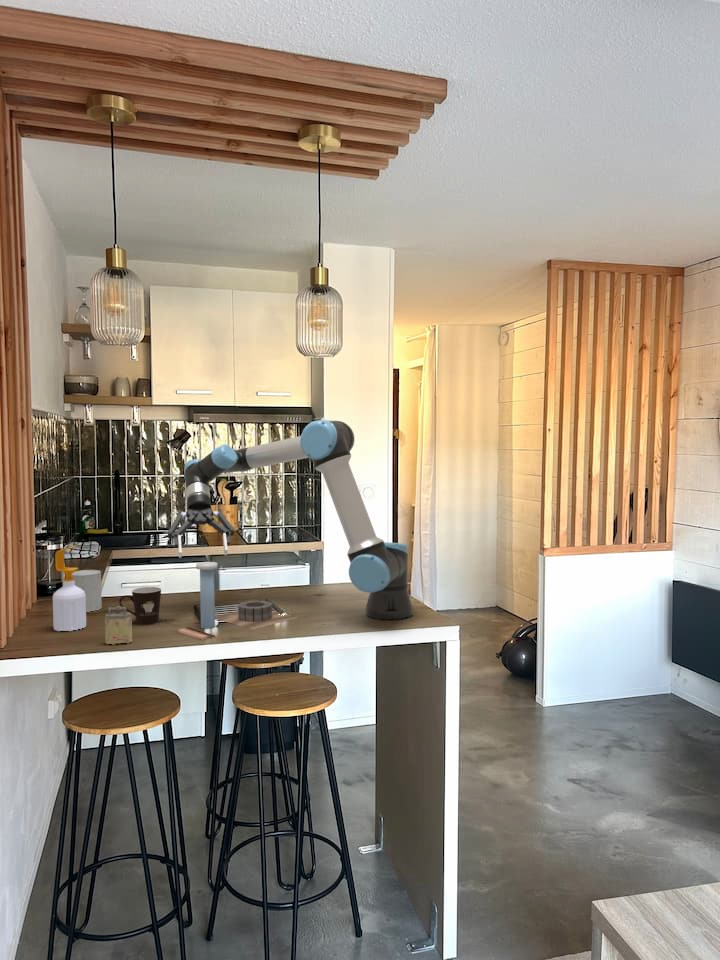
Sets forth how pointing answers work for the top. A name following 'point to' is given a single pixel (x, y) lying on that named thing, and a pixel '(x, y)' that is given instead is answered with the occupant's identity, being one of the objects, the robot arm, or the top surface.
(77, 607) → the soap bottle
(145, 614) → the coffee mug
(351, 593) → the top surface
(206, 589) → the peg
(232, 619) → the eye plate
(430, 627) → the top surface
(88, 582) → the grey tapered cup
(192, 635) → the tile
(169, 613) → the top surface
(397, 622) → the top surface
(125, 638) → the beige rectangular bottle
